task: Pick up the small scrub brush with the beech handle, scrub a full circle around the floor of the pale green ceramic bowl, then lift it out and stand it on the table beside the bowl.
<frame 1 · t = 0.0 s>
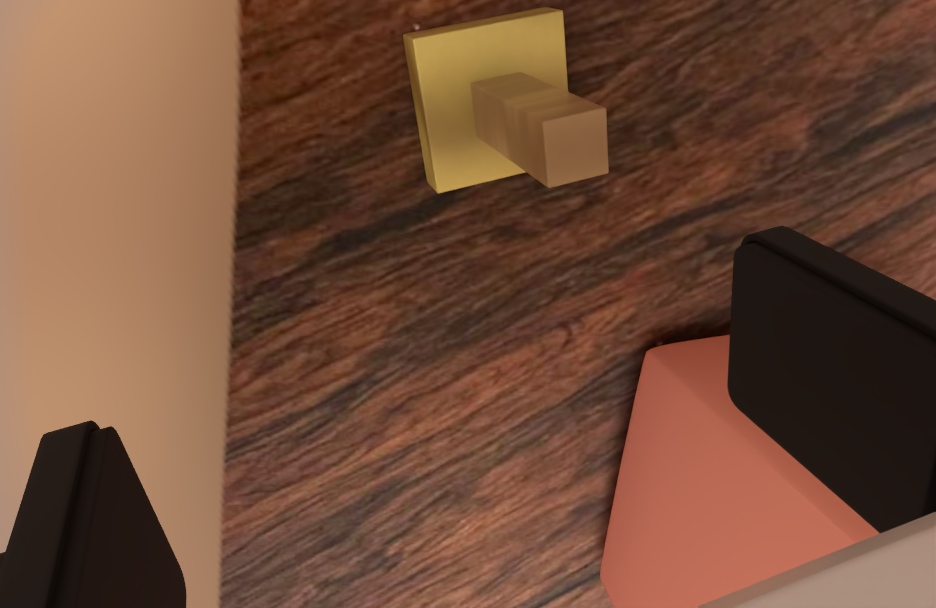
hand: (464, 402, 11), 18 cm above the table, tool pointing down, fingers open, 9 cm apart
scrub brush: (485, 97, 28), on the table
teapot: (788, 422, 42), on the table
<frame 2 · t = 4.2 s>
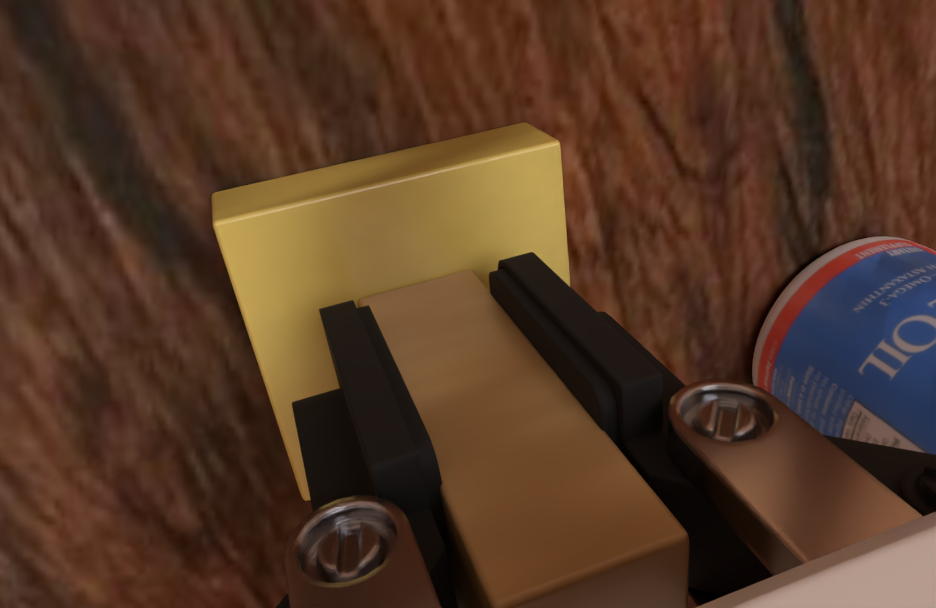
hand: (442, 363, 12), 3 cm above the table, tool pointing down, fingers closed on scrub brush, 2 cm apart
pill bottle: (829, 328, 18), on the table
scrub brush: (404, 296, 14), on the table, touching gripper
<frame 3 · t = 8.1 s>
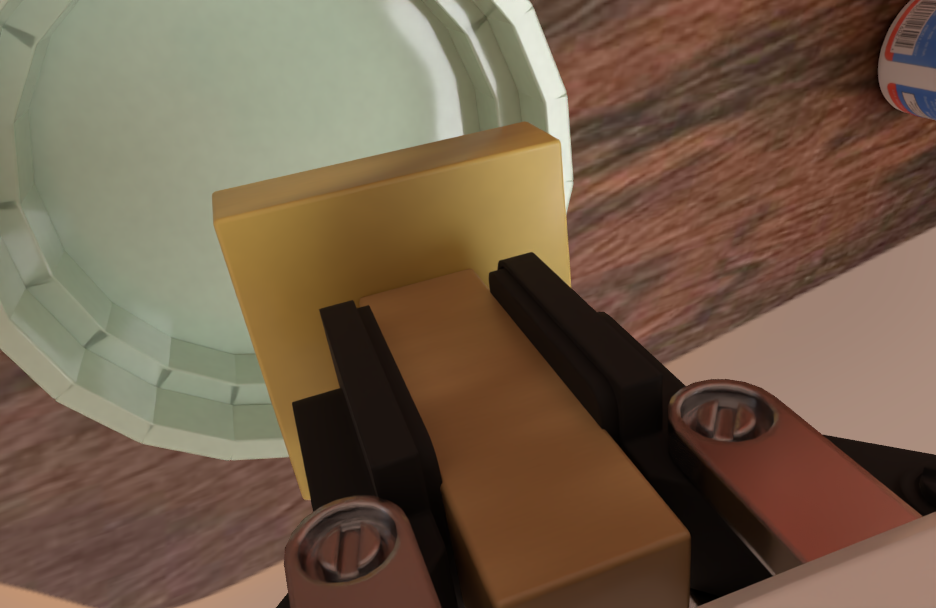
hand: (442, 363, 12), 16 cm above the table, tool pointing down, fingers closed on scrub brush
pill bottle: (920, 47, 32), on the table
bowl: (275, 160, 25), on the table
scrub brush: (404, 295, 14), point 13 cm above the table, touching gripper
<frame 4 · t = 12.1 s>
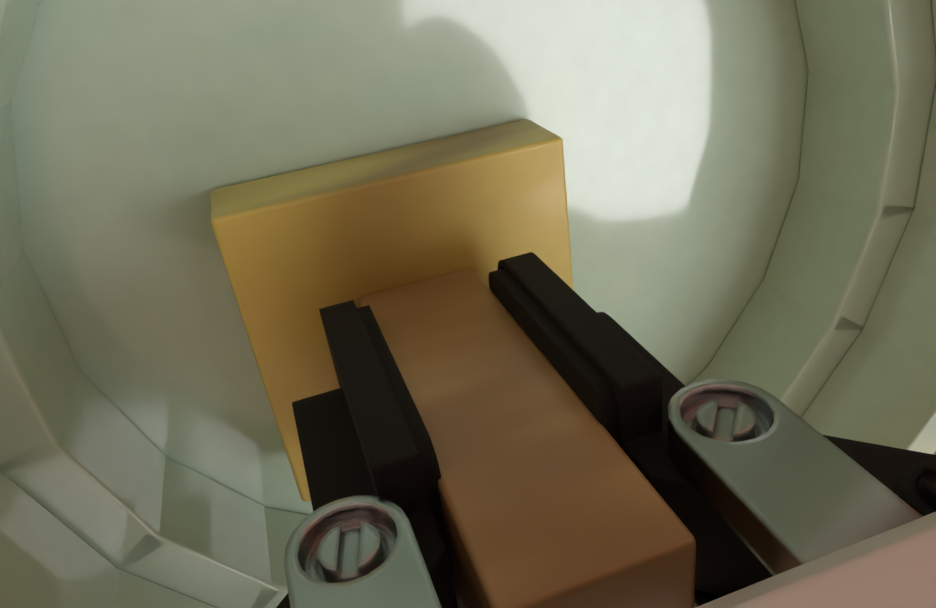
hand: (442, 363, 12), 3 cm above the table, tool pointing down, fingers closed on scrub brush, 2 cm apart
bowl: (459, 199, 14), on the table
scrub brush: (404, 295, 14), point 1 cm above the table, touching gripper
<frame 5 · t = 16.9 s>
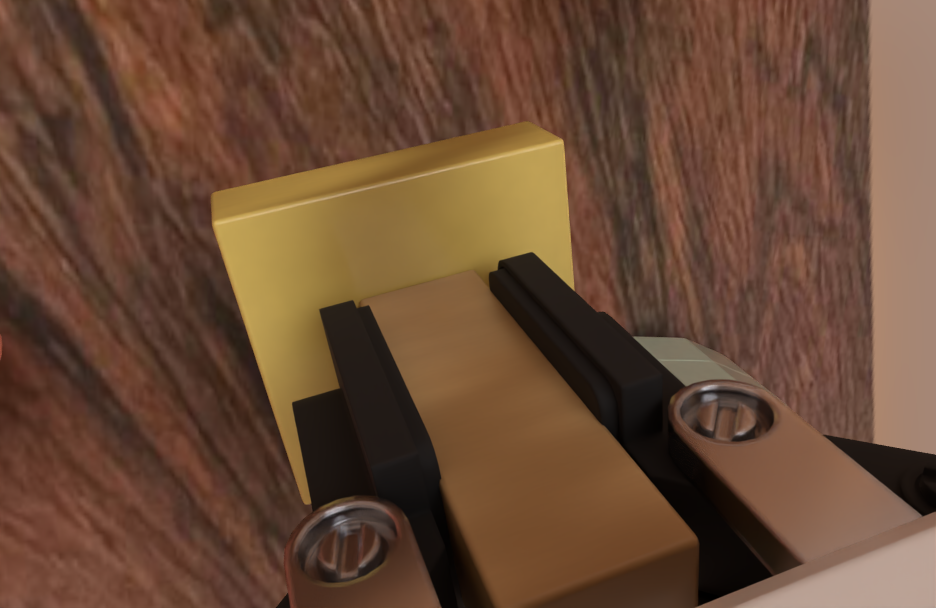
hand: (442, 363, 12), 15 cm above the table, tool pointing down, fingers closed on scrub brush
bowl: (600, 485, 37), on the table
scrub brush: (405, 297, 14), point 13 cm above the table, touching gripper
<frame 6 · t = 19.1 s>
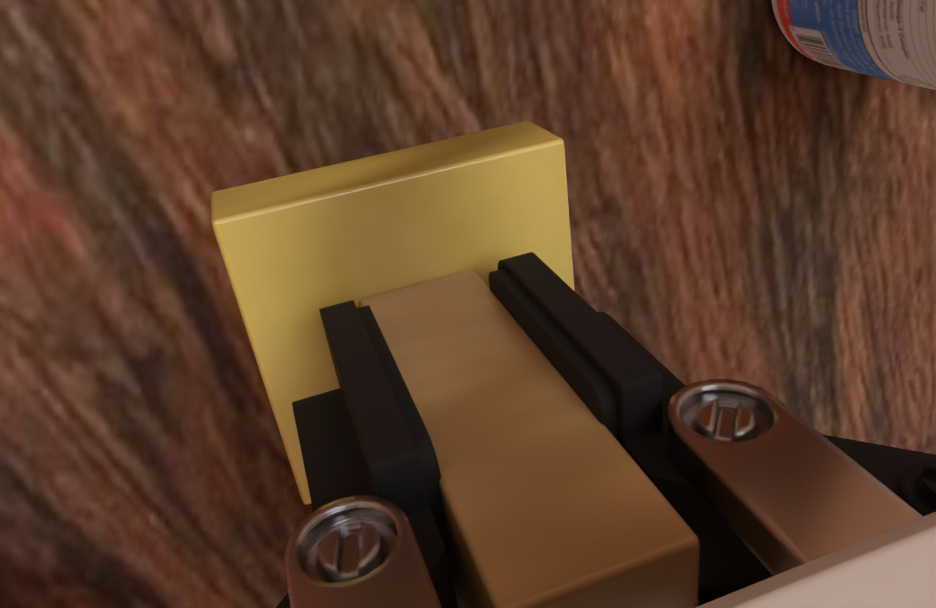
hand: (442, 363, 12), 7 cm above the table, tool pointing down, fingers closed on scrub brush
scrub brush: (405, 297, 14), point 4 cm above the table, touching gripper
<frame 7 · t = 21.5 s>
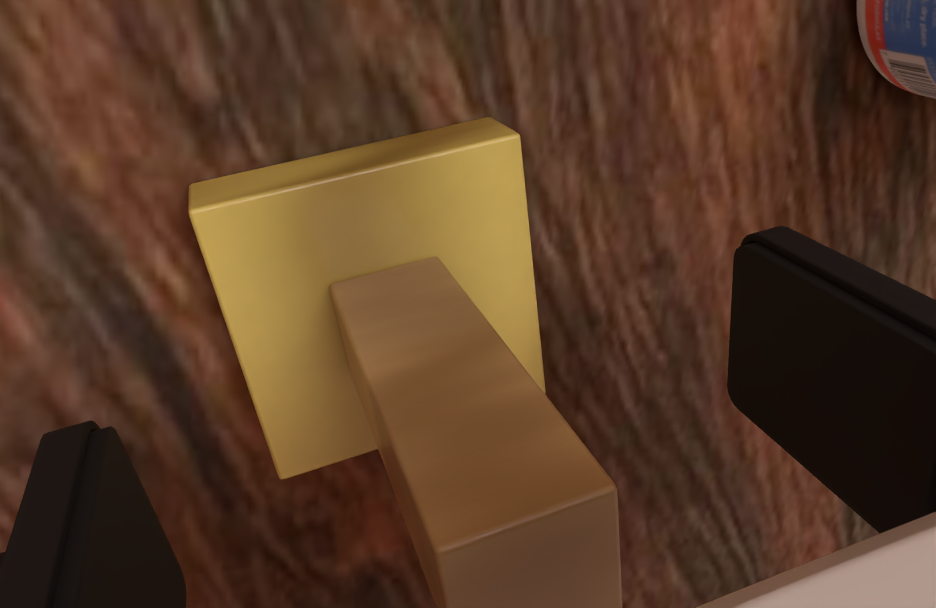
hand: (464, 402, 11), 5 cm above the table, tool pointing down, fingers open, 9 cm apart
scrub brush: (376, 284, 14), on the table
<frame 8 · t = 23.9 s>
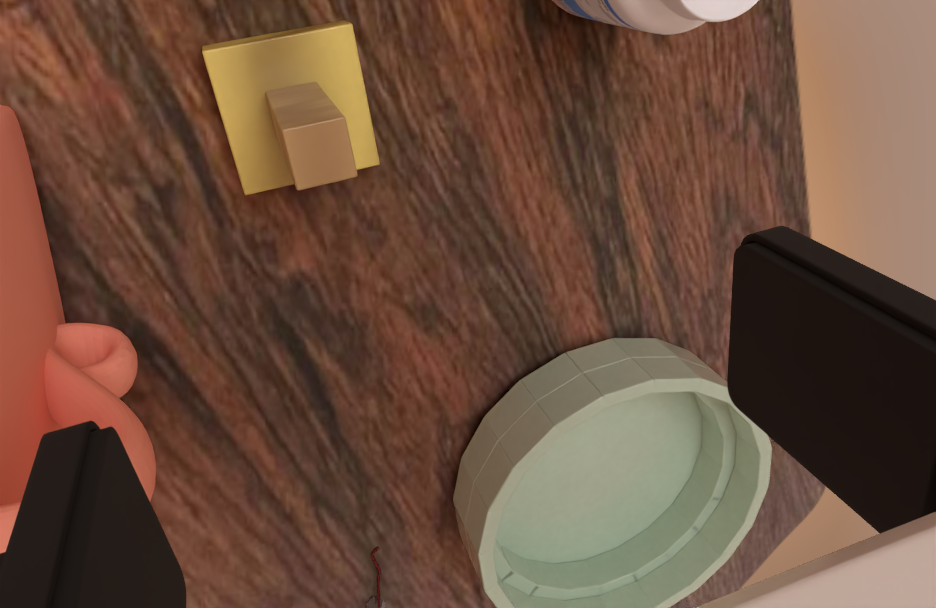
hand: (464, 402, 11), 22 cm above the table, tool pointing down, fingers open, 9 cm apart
bowl: (591, 462, 44), on the table
scrub brush: (293, 104, 30), on the table
pendant: (344, 597, 42), on the table
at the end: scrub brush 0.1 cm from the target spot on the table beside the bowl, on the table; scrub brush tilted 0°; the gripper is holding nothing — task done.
